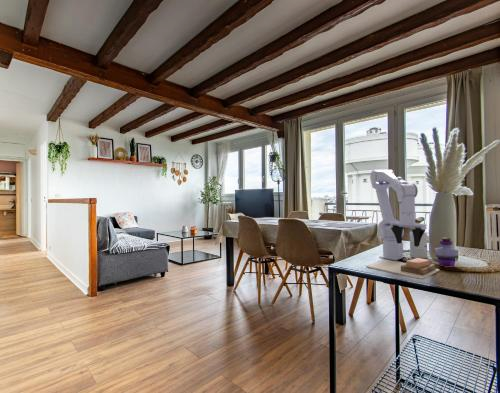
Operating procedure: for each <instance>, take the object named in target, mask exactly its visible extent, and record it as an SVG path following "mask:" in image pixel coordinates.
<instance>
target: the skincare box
mask: <svg viewBox="0 0 500 393" xmlns="http://www.w3.org/2000/svg"><path fill="white" fill-rule="evenodd" d="M409 256H410V257H411V258H413V257H414V258H413V259H416V258H421V259H427V258H428V233H427V232H426V231H425V232H424V234H423V236H422V238H421V240H420V244H419V246H414V236H413V232H412V231H409Z"/></svg>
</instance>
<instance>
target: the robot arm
mask: <svg viewBox="0 0 500 393" xmlns="http://www.w3.org/2000/svg"><path fill="white" fill-rule="evenodd" d="M369 178H370V184H371V187H372V188H373V189H374V190H375V193H376V197H377V201H378V205H379V210H380V213H381V218H382V220H381V221H380V222H379V223H378V224H377V228H378V229H377V230H378V231H377V232H378V236H379V237H380V238H381V239H382V255H380V256H379V257H378V258H381V259H385V260H391V261H398V260H401V259H403V257H404V258H406V256H405V255H404V244H403V237H404V235H405V230H404V228H408V229H411V232H413V236H414V246H419V244H420V240H421V238H422V236H423V234H424V232H426V230H427V224H425V223H419V222H416V203H415V202H416V197H417V196H418V190H419V188H418V186H417V185H416V184H415V183H409V182H407V181H406V180H404V179H403V177H402V176H397V177H396V175H395V172H394V170H393V169H392V168H391V169H377V170H376V169H373V170H371V172H370V176H369ZM389 188H391V189H393V190H394V191H395V193H396V196H397V202H399V203H398V206H399V208H398V209H399V220H398V219H396V218H395V216H394V214H393V210H392V205H391V202H390V198H389V194H388V189H389Z"/></svg>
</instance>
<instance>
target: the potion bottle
mask: <svg viewBox="0 0 500 393" xmlns="http://www.w3.org/2000/svg"><path fill="white" fill-rule="evenodd" d="M439 242H440V243H439V244H440V245H442V246H440V247H435V248H434V251H435V252H434V253H435V256H436V258H437V261H438V266H439V265H443V266H454V267H455V264H456V262H458V260H459V249H455V248H454V247H453V248H452V247H451V246H453V241H452V239H451V237H446V236H445V237H441V239H440V241H439Z"/></svg>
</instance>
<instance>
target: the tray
mask: <svg viewBox="0 0 500 393" xmlns="http://www.w3.org/2000/svg"><path fill="white" fill-rule="evenodd" d="M436 265H437V264H436V263H430V265H429V266H427V267H425V268H423V269H417V268H412V267H407V264H405V265H402V266H401V271H403V272H408V273H413V274H418V275H422V276H423V275H425V274H427V273H429V272H431V271H433V270H435V269H437V268H436V267H437V266H436Z"/></svg>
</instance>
